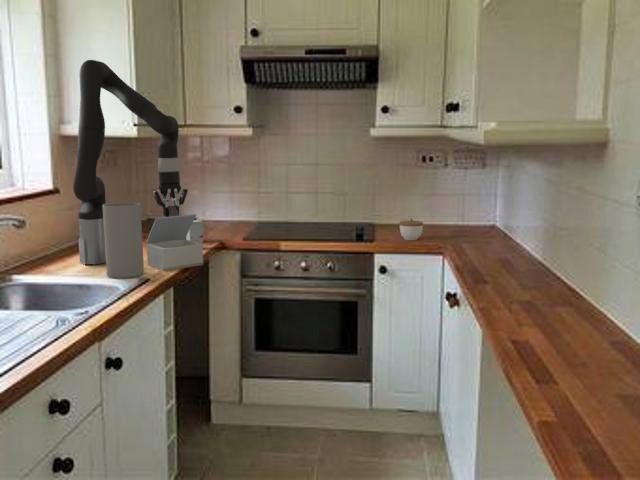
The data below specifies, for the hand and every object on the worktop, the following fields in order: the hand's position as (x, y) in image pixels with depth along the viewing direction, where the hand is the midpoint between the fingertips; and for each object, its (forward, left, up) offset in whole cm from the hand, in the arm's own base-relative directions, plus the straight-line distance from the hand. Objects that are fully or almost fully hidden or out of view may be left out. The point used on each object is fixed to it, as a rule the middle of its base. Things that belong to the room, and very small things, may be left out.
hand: (171, 216), depth 241 cm
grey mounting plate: (0, +1, -5) cm, 5 cm away
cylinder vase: (-21, -5, -18) cm, 29 cm away
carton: (0, -1, -18) cm, 18 cm away
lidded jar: (+109, -19, -19) cm, 112 cm away
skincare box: (+21, +23, -18) cm, 36 cm away
